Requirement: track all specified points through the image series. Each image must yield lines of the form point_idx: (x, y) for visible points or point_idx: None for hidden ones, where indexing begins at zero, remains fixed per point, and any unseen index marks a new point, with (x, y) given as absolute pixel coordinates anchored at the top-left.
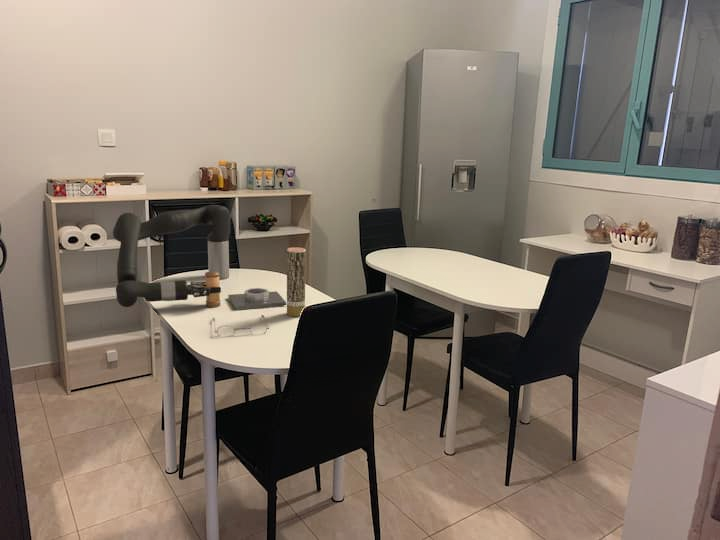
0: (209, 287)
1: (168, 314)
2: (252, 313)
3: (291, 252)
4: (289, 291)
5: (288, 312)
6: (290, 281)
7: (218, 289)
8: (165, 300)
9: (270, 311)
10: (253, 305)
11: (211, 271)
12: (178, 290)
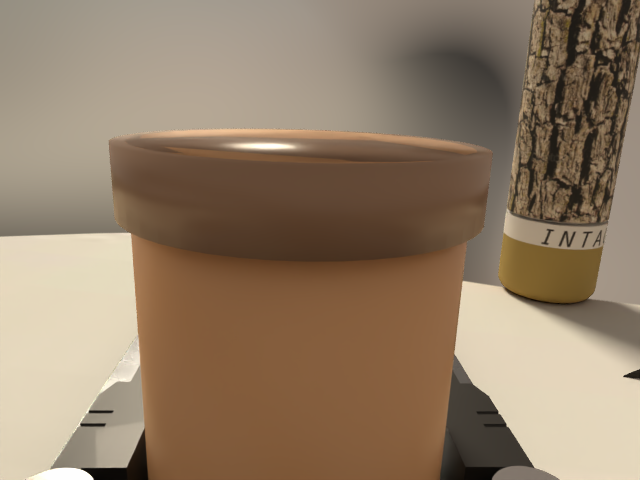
0: (539, 477)
1: None
2: (584, 408)
3: None
4: (612, 168)
5: (584, 288)
6: (625, 108)
7: (483, 403)
8: None
9: (512, 339)
10: (457, 366)
11: (121, 136)
12: None
